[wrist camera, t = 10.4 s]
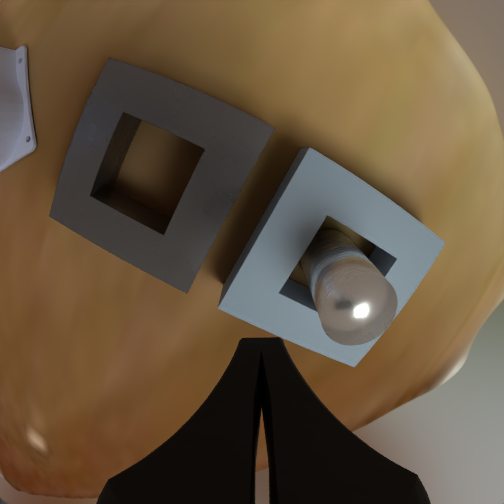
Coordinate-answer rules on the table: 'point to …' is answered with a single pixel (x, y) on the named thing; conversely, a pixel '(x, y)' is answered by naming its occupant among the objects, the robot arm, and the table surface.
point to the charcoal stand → (114, 151)
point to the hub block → (298, 239)
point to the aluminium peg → (347, 289)
